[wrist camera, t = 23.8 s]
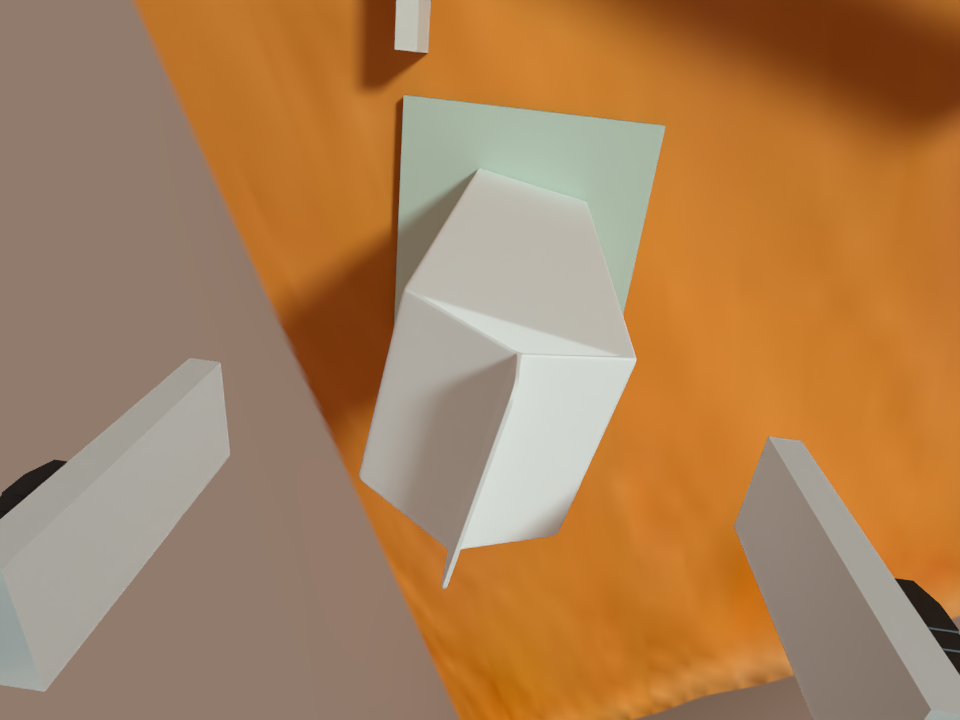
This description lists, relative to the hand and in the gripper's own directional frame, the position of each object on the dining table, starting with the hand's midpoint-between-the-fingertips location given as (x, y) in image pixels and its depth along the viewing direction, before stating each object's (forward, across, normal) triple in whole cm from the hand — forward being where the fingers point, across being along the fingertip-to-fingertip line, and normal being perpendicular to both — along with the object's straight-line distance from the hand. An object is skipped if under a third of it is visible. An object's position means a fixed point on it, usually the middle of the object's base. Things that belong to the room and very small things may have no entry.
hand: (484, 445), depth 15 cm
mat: (+21, 0, 0) cm, 21 cm away
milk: (+20, 0, 0) cm, 20 cm away
